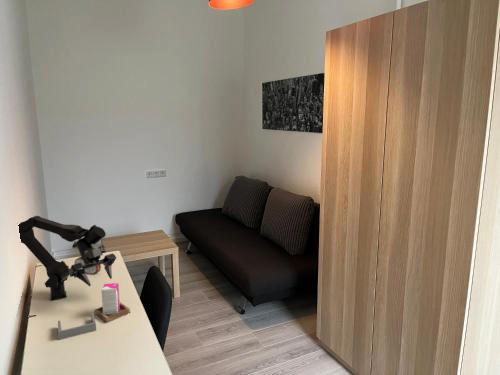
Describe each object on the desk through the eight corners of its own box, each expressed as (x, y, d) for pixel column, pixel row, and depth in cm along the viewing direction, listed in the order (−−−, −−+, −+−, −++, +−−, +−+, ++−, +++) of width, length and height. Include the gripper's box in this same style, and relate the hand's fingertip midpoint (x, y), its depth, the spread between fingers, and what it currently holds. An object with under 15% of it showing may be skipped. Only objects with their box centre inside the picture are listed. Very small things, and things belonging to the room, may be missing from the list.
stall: (58, 328, 142) (57, 320, 142) (94, 319, 148) (93, 312, 147) (59, 339, 135) (58, 332, 134) (96, 330, 140) (95, 323, 140)
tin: (101, 273, 193) (100, 258, 191) (97, 276, 190) (96, 260, 188) (78, 270, 197) (77, 255, 196) (74, 272, 195) (72, 257, 193)
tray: (95, 314, 152) (94, 309, 152) (117, 305, 159) (117, 300, 159) (106, 322, 145) (106, 318, 145) (130, 312, 153) (129, 308, 152)
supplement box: (118, 315, 150) (115, 288, 148) (102, 316, 149) (100, 289, 147) (120, 308, 156) (118, 282, 154) (105, 309, 155) (103, 283, 153)
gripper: (68, 246, 149) (83, 280, 144) (112, 235, 163) (127, 266, 157) (62, 260, 156) (76, 292, 151) (105, 248, 169) (119, 278, 164)
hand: (100, 281), depth 156 cm, fingers open, 9 cm apart
